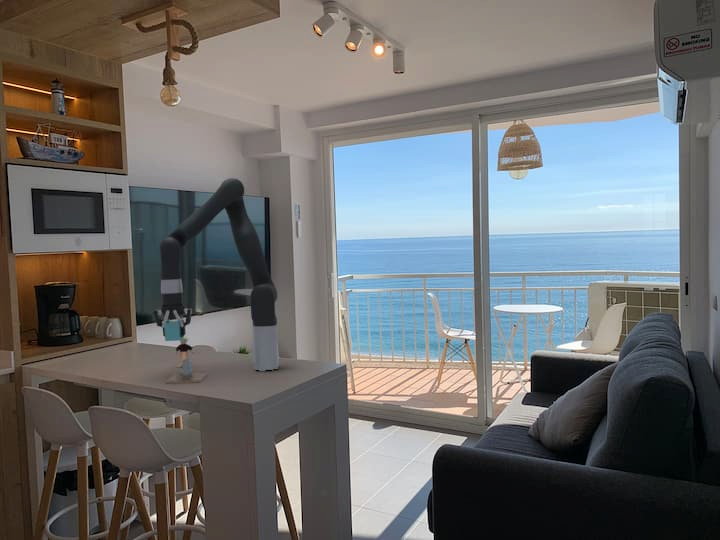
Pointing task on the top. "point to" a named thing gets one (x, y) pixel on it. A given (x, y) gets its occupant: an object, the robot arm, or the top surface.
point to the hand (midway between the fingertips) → (174, 337)
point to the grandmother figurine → (183, 350)
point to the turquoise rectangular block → (172, 331)
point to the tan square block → (187, 374)
